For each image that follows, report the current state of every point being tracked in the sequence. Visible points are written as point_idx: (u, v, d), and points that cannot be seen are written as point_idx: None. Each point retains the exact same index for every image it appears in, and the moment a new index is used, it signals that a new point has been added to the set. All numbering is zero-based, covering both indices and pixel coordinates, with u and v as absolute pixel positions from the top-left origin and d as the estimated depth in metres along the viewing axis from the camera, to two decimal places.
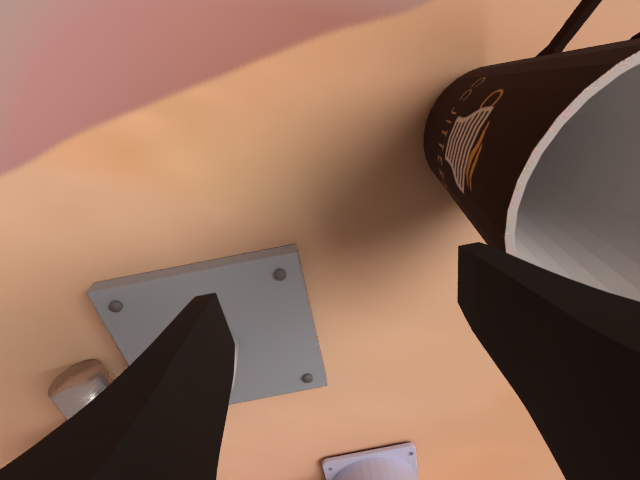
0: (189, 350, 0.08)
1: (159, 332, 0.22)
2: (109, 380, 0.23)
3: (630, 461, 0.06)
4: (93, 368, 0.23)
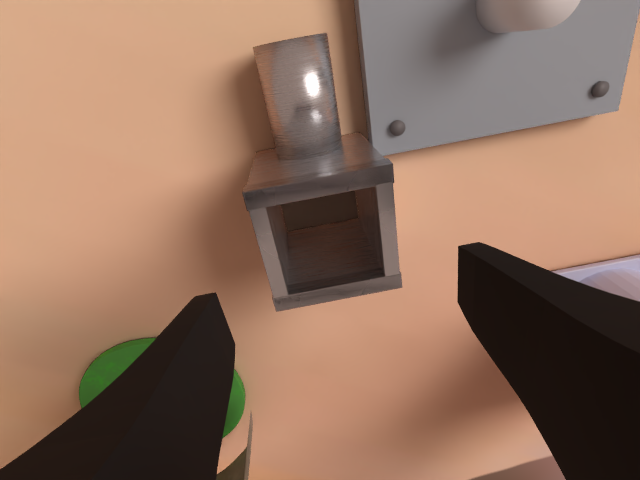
0: (189, 350, 0.08)
1: None
2: None
3: (630, 461, 0.06)
4: None
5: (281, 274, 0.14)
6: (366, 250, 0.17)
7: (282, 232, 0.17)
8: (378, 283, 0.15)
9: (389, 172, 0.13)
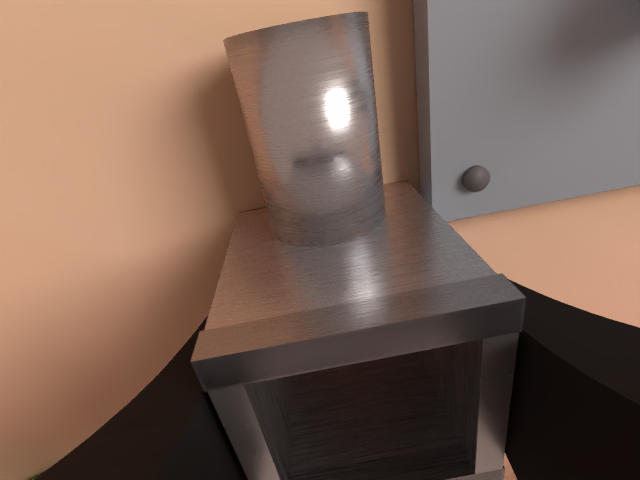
0: None
1: None
2: None
3: (571, 472, 0.06)
4: None
5: None
6: (423, 386, 0.10)
7: None
8: None
9: (516, 314, 0.06)
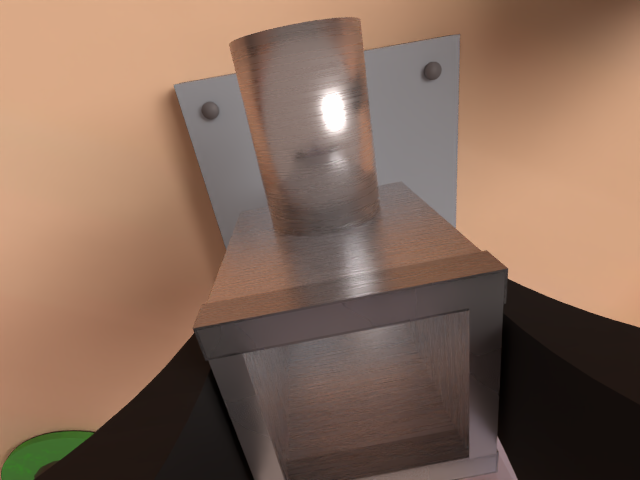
0: None
1: None
2: None
3: (571, 472, 0.06)
4: None
5: (275, 462, 0.07)
6: (419, 378, 0.10)
7: None
8: (455, 468, 0.08)
9: (499, 285, 0.06)
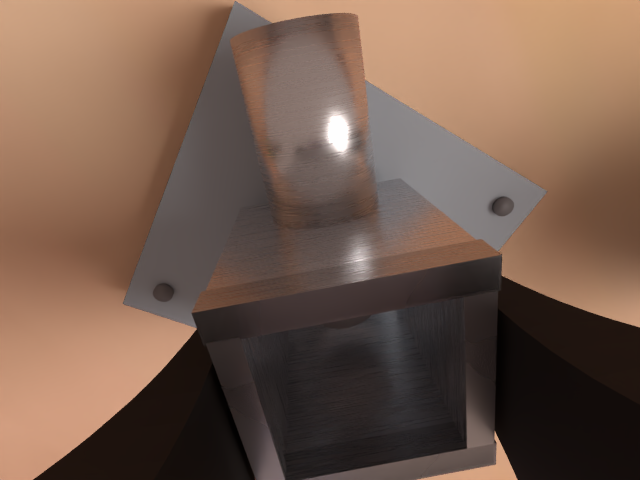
0: None
1: None
2: None
3: (571, 472, 0.06)
4: None
5: (273, 451, 0.07)
6: (418, 373, 0.10)
7: (279, 338, 0.11)
8: (453, 459, 0.08)
9: (493, 271, 0.06)
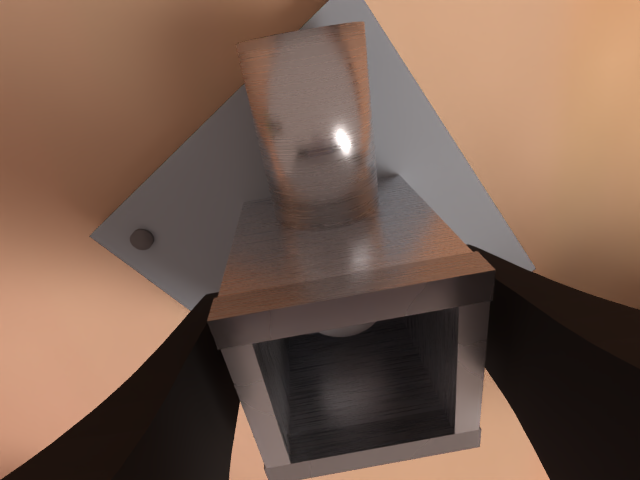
0: (202, 347, 0.08)
1: None
2: None
3: (611, 465, 0.06)
4: None
5: (279, 438, 0.08)
6: (411, 362, 0.11)
7: None
8: (442, 443, 0.09)
9: (487, 284, 0.07)
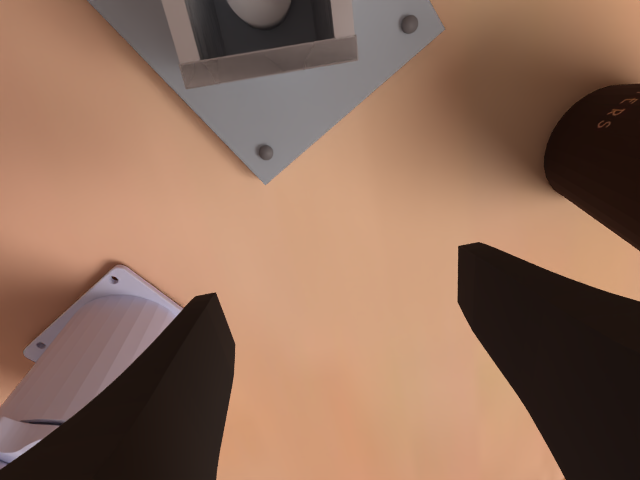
0: (189, 350, 0.08)
1: None
2: None
3: (630, 461, 0.06)
4: None
5: (187, 19, 0.10)
6: None
7: (210, 24, 0.13)
8: (325, 49, 0.11)
9: None
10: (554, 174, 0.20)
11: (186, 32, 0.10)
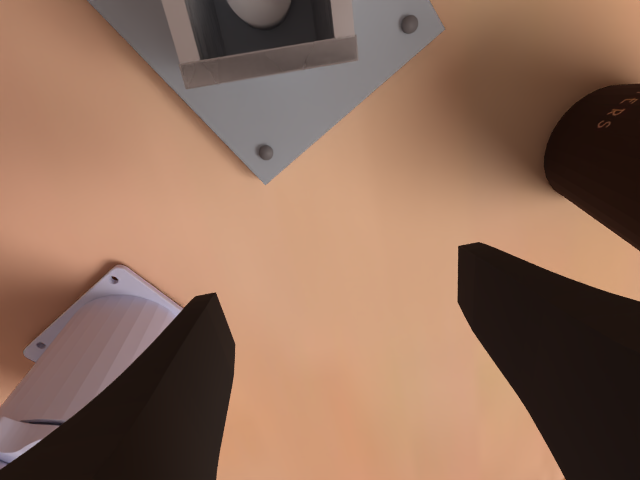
0: (189, 350, 0.08)
1: None
2: None
3: (630, 461, 0.06)
4: None
5: (187, 19, 0.10)
6: None
7: (210, 24, 0.13)
8: (325, 49, 0.11)
9: None
10: (554, 174, 0.20)
11: (186, 32, 0.10)
